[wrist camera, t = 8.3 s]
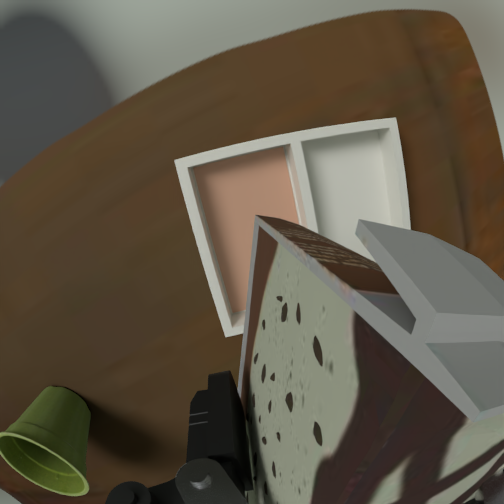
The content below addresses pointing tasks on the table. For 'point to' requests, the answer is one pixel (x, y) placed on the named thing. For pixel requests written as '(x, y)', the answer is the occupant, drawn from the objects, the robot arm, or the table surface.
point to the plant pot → (51, 442)
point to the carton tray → (290, 196)
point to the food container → (370, 368)
